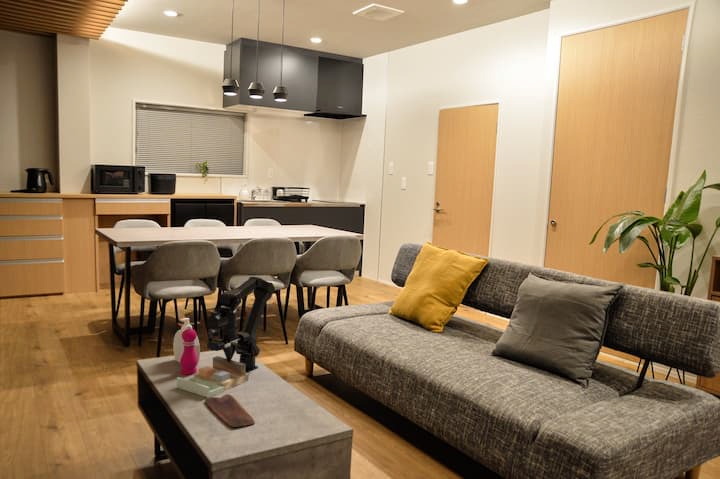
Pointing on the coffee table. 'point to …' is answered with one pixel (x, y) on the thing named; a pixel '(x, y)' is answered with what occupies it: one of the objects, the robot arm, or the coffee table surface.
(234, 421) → the wooden tablet
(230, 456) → the coffee table surface
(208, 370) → the terracotta tile
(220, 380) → the grey square block
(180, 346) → the soap bottle
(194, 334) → the pepper mill
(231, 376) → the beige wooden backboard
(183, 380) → the tray
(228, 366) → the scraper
